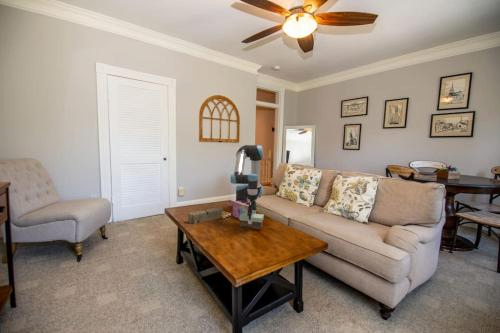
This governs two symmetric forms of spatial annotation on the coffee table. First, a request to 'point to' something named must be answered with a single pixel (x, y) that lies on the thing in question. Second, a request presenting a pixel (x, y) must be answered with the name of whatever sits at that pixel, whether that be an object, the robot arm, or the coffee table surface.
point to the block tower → (205, 215)
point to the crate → (252, 225)
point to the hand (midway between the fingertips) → (251, 221)
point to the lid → (254, 217)
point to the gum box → (239, 208)
